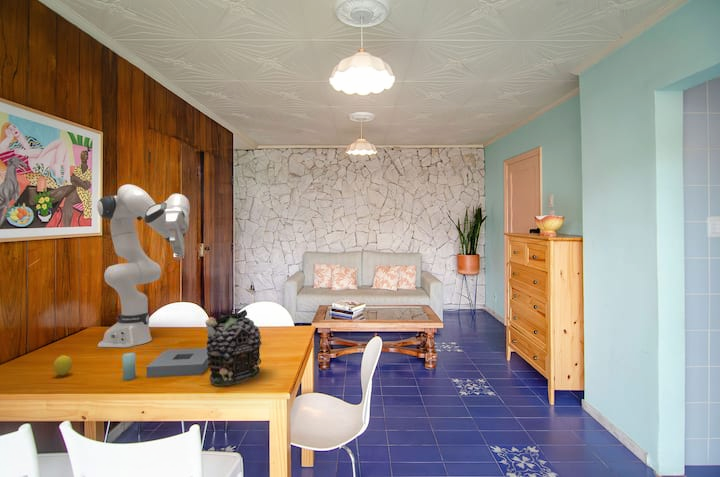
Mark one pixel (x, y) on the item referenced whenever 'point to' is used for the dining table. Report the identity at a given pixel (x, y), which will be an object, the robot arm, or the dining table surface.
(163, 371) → the cutout board
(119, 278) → the robot arm
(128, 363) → the peg
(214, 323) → the decorative house
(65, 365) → the lemon
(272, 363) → the dining table surface
